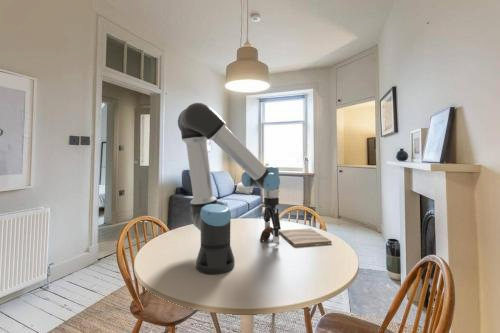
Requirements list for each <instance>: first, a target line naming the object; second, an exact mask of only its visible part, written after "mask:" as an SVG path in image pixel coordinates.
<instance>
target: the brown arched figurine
mask: <svg viewBox="0 0 500 333" xmlns="http://www.w3.org/2000/svg"><path fill="white" fill-rule="evenodd" d="M272 229H273V226H270V227H269V226H268V228H266V229H265V228H264V229H263V231H261V234H260V236H259V237H260V238H259V241H260V242H261V243H263V242H265V243H267V242H269V241H268V240H269V239H270V237H271V235H272V236H273V230H272ZM279 236H281V235H280V233H279Z"/></svg>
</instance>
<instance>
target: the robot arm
mask: <svg viewBox="0 0 500 333" xmlns="http://www.w3.org/2000/svg"><path fill="white" fill-rule="evenodd" d="M177 125H178V126H177V127H178V129H179V131H180V132H181V133H180V134H181V140H182V142H184V143H185V144H186V151H187V159H188V161H187V162H188V166H189V176H190V182H191V184H190V185H191V191H192V199H191V200H190V202H189V204H190V211H189V219H190V221H191V223H192V225H194V227H196V228H197V229H198V230H199V232H200V247H199V250H198V254H197V257H196V259H195V260H196V261H195V268H196V270H197V271H198V272H200V273H202V274H207V275H219V274H223V273H226V272H230V271H231V270H232V269H233V268H234V267H235V264H236V263H235V256H234V253H233V250H232V246H231V223H232V222H231V221H232V220H231V219H232V215H231V210H230V208H229V207H228V206H226V205H225V204H220V203H218V198H217V197H216V196H214V194H213V186H212V185H213V184H212V179H211V178H212V177H211V171H210V170H211V169H210V162H209V153H208V145H207V141H208V140H210V141H213V142H214V143H215V144H216V145H217V146H218V147H219V148H220V149H221V150H222V151H223V152H224V153H225V154H226V155H227V156H229V157H230V159H232V161H233V162H235V163H236V164H237V165H238V166H239V167H240V168H241V169H242V170H243V171H244V172H242V174H241V184H242V186H243V187H245V188H258V189H262V190H263V196H264V198H263V205H264V213H263V220H264V229H266V228H268V226H269V227H271V223H272V228H273V229H272V230H273V235H272V244H279V243H280V242H279V240H280V235H279V230H282V229H281V223H280V222H281V221H280V215H279V214H280V213H279V208H277V207H276V206H278V205H279V204H280V203H279V202H280V198H279V196H280V189H279V188H280V185H281V178H280V172H279V168H278V167H277V166H265V165H264V164H263V163H262V162H261V160H259V159H258V158H257V157H256V156H255V154H253V153H252V151H250V150H249V149H248V148H247V146H245V144H243V142H241V140H240V139H239V138H238V137H236V135H235V134H234V133H233V132H232V131H231V130H230V129H229V128H228V127H227V125H226V122H225V120H224V119H223V118H222V117H221V116H220V115H219V114H218V113H217V112H216V111H215V110H214V109H213V108H212V107H210V106H209V105H207V104H205V103H202V102H195V103H192V104H189V105H188V106H186V108H184V109H183V110H182V111H181V112H180V113H179V115H178V119H177Z"/></svg>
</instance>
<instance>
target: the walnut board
mask: <svg viewBox="0 0 500 333" xmlns="http://www.w3.org/2000/svg"><path fill="white" fill-rule="evenodd" d="M279 233H280V235H279V236H282V238H284V240H286V241H287V242H288V243H289V244H291V245H292V246H293V247H294V248H297V247H300V248H301V247H309V246H308V245H312V246H317V245H316V244H324V245H328V244H327V243H331V244H332V240H330V239H329V238H328V237H326V236H324V235H322V234H320V232H317V231H316V230H314V229H312V228H298V229H297V228H296V229H283V230H282V229H280V230H279Z"/></svg>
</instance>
